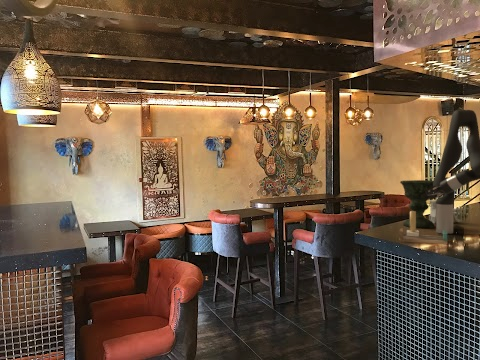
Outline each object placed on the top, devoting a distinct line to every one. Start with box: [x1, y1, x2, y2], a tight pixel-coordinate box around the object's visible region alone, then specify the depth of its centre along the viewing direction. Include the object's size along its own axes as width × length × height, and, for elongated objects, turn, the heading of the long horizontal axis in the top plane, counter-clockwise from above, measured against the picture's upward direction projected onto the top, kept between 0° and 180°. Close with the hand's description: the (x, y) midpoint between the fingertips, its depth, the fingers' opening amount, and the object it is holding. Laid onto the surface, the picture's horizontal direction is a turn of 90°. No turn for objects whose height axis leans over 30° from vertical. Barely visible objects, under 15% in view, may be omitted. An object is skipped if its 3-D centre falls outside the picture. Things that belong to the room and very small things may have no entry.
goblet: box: [399, 179, 436, 229], centre depth 262 cm, size 22×23×30 cm
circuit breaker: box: [428, 199, 454, 224], centre depth 277 cm, size 8×14×15 cm, turn 89°
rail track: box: [399, 228, 448, 245], centre depth 216 cm, size 10×23×6 cm, turn 66°
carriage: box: [406, 210, 420, 237], centre depth 217 cm, size 7×6×13 cm
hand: (425, 197), depth 224 cm, fingers open, 8 cm apart
